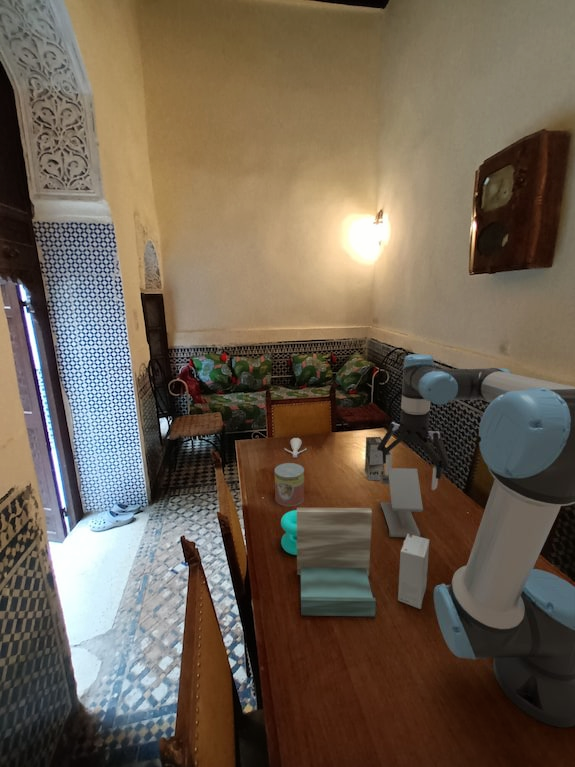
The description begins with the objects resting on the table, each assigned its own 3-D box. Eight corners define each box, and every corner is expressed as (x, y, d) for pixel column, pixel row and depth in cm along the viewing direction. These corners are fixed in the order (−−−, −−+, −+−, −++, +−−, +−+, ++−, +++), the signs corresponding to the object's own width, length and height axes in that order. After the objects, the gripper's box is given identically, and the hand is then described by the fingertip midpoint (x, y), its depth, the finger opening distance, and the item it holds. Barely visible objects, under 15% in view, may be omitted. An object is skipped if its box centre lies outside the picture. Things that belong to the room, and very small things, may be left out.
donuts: (274, 520, 108) (292, 504, 116) (274, 548, 111) (292, 531, 119) (302, 532, 103) (319, 514, 111) (302, 561, 105) (319, 542, 113)
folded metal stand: (420, 539, 114) (425, 482, 109) (390, 538, 115) (393, 482, 110) (406, 506, 132) (409, 456, 127) (380, 505, 133) (382, 455, 128)
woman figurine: (307, 435, 187) (307, 452, 170) (307, 443, 189) (307, 461, 171) (285, 435, 188) (282, 452, 171) (285, 443, 189) (282, 460, 172)
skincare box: (420, 610, 89) (425, 559, 85) (396, 600, 92) (399, 551, 88) (426, 586, 96) (431, 538, 92) (403, 578, 99) (407, 531, 95)
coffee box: (383, 480, 150) (385, 445, 146) (368, 480, 150) (370, 445, 146) (378, 470, 159) (380, 436, 155) (364, 470, 159) (365, 436, 155)
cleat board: (379, 616, 87) (383, 545, 82) (297, 615, 88) (296, 545, 83) (367, 570, 102) (370, 508, 97) (297, 569, 102) (296, 507, 97)
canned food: (270, 503, 135) (270, 474, 132) (280, 488, 145) (279, 461, 142) (299, 508, 131) (299, 479, 128) (307, 492, 142) (307, 465, 139)
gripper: (467, 415, 94) (459, 488, 99) (379, 400, 110) (376, 464, 114) (459, 423, 88) (451, 500, 93) (367, 405, 104) (365, 472, 109)
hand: (410, 480), depth 104 cm, fingers open, 13 cm apart
